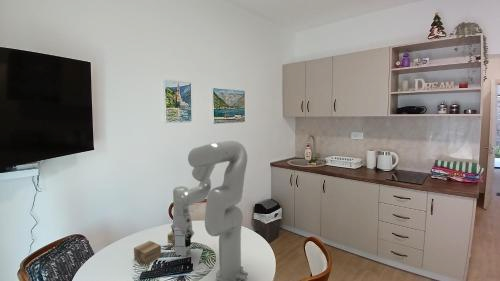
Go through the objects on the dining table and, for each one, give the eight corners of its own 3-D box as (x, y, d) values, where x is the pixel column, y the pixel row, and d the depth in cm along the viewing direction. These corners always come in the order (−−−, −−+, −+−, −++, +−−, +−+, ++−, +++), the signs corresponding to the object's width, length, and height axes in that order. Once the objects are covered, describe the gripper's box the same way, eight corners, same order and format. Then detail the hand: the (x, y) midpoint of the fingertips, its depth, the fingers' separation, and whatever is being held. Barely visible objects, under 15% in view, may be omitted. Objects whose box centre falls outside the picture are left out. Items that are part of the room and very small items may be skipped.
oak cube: (180, 239, 150) (180, 231, 150) (175, 244, 146) (175, 235, 145) (172, 239, 152) (172, 230, 151) (167, 243, 147) (167, 234, 146)
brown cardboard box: (161, 256, 132) (160, 245, 132) (145, 265, 125) (144, 253, 124) (150, 251, 137) (149, 240, 137) (134, 259, 130) (133, 247, 129)
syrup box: (185, 256, 132) (184, 228, 131) (175, 255, 134) (173, 227, 132) (190, 250, 138) (189, 224, 137) (180, 249, 139) (179, 223, 138)
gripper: (198, 212, 132) (199, 245, 134) (175, 205, 142) (177, 236, 143) (187, 217, 126) (188, 251, 127) (164, 209, 135) (165, 242, 137)
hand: (182, 243), depth 135 cm, fingers open, 7 cm apart
